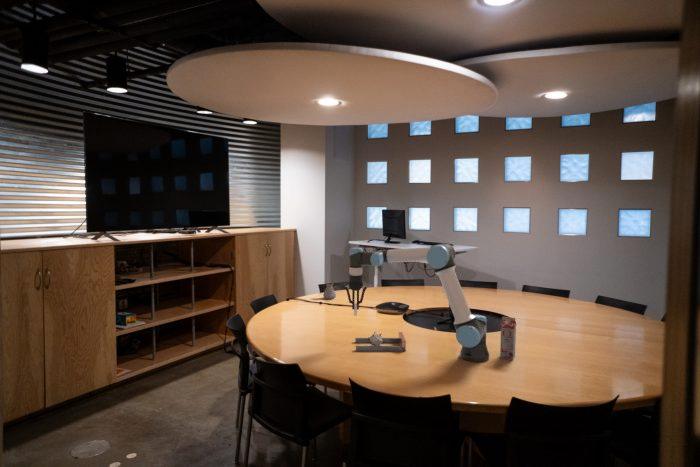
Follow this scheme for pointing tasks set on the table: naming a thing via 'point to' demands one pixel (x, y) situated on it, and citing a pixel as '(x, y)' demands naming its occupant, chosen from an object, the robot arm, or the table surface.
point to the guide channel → (399, 340)
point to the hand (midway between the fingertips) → (355, 314)
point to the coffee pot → (330, 291)
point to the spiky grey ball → (376, 339)
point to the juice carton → (508, 338)
